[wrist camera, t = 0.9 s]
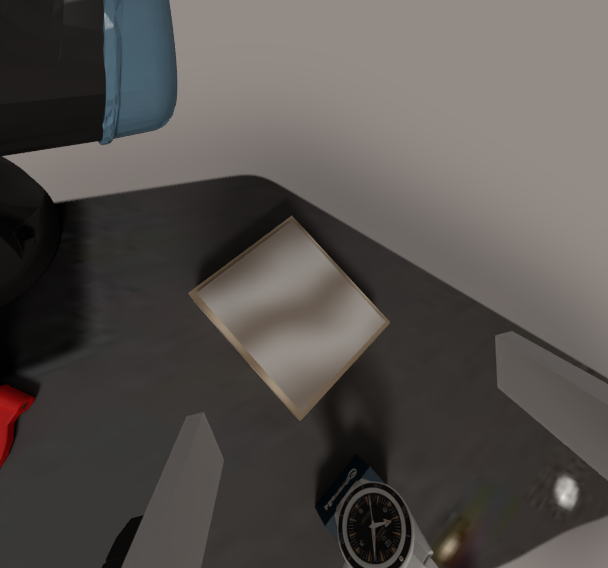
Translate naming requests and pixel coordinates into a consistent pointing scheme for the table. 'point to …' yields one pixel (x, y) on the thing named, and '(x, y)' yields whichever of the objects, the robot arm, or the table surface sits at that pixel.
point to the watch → (372, 522)
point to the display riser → (291, 314)
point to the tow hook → (10, 415)
